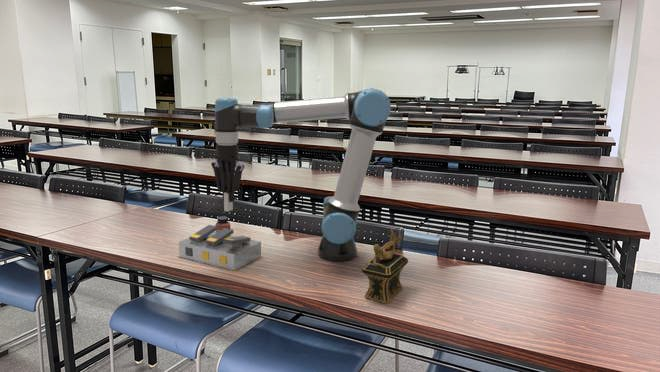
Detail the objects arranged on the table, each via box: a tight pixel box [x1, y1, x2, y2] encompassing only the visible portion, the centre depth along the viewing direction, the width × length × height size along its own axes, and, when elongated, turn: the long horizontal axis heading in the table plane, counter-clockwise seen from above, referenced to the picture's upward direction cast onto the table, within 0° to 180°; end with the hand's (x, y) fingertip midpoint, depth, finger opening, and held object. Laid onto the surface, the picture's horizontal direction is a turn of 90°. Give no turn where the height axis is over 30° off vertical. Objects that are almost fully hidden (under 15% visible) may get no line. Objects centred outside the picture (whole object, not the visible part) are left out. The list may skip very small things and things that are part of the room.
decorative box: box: [361, 228, 409, 304], centre depth 148 cm, size 20×10×20 cm, turn 151°
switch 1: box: [188, 224, 217, 242], centre depth 178 cm, size 4×11×2 cm, turn 153°
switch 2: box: [206, 228, 234, 246], centre depth 175 cm, size 4×11×2 cm, turn 153°
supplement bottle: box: [214, 216, 231, 233], centre depth 189 cm, size 6×6×11 cm
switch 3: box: [223, 235, 252, 245], centre depth 171 cm, size 4×11×2 cm, turn 153°
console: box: [178, 231, 262, 272], centre depth 176 cm, size 26×16×7 cm, turn 63°
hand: (228, 210), depth 165 cm, fingers closed
